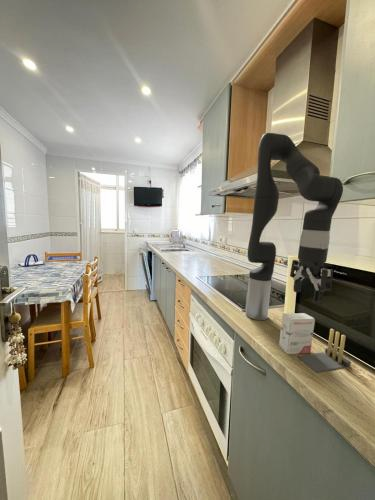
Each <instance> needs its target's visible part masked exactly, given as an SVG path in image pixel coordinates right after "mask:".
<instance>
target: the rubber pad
mask: <svg viewBox="0 0 375 500" xmlns="http://www.w3.org/2000/svg"><path fill="white" fill-rule="evenodd" d="M297 358H299V360H301V361H302V362H303V363H304V364H305V365H306V366H308V367H309V368H310V369H311V370H313V371H314V372H316V373H322V372H326V371H327V372H328V371H332V370H333V371H334V370H338V369H344V366H343V365H342V364H341V365H340V364H339V363H337V361H334V360H333V359H332V357H329V356H327V354H326V353H325V352H322V351H321V352H316V353H306V354H303V355H302V354H301V355H297Z"/></svg>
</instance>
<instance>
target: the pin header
mask: <svg viewBox="0 0 375 500" xmlns="http://www.w3.org/2000/svg"><path fill="white" fill-rule="evenodd" d="M334 334H335V335H334ZM333 341H334V343H333ZM339 341H340V344H339ZM345 343H346V335H345V334H341V335H340V332H339V331H335V329H333V328H330V329H329V337H328V343H327V347H326V348H325V349H324V354H326V355H327V356H329V357H330V358H332V359H333V360H334V361H336V362H337V363H339V364H340V365H342V366H343V367H345V368H350V367H351V364H352V362H351V361H350V360H349V359H347V358H346V357H345V356H344V349H345V345H346V344H345ZM332 348H333V349H332Z"/></svg>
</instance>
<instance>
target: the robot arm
mask: <svg viewBox="0 0 375 500" xmlns="http://www.w3.org/2000/svg"><path fill="white" fill-rule="evenodd" d="M257 148H258V149H257V170H256V171H257V174H256V186H255V193H254V201H253V211H252V212H253V214H252V222H251V223H252V224H251V229H250V230H251V231H250V235H249V241H248V244H247V245H248V246H247V255H246V256H247V260H248V262H249V263H254V264H261V265H260V266H258V267H257V268H254V269H253V268H252V269H251V270H250V271H249V274H248V286H247V287H248V288H247V292H246V299H245V310H244V312H245V315H246V317H248V318H250V319H253V320H257V321H265V320H267V319H268V318H269V317H268V315H269V308H270V307H269V306H270V296H271V285H272V279H273V274H274V271H275V270H274V267H275V262H276V258H277V257H276V256H277V248H276V247H277V246H276V244H275V243H274V242H271V241H261V237H262V233H263V231H264V229H265V228H266V226H267V225H268V224H269V223H270V222H271V220H272V219H273V218H274V217H275V214H276V213H277V210H278V206H279V199H280V193H279V189H278V186H277V183H276V182H275V179H274V177H273V174H272V170H271V169H272V164H271V163H272V161H281V162H283V163H285V165H286V166H285V170H286V173H287V175H288V176H289V178H290V179H291V180H292V181H293V182H294V183H296V185H297V186H296V187H297V188H298V190H299V194H300V195H301V197H302V198H303V199H305V200H307V201H309V202H317V203H318V204H317V205H316V207H315V208H314V209H310V210H307V211H305V213H304V216H303V223H302V230H301V231H302V232H301V234H300V238H299V247H298V255H297V259H293V260H292V261H291V262H292V263H291V267H290V273H289V276H290V278H292V279H293V281H294V282H293V287H292V288H293V292H294V293H301V291H302V286H303V280H304V279H305V278H306V279H308V280H310V282H311V284H313V286H314V290H313V297H312V302H313V303H315V304H317V303H322V301H323V297H324V292H326V291H331V290H332V286H333V276H334V270H333V269H331V268H330V269H328V268H324V264H325V263H326V262H327V259H328V252H329V247H330V246H329V245H330V240H331V239H330V238H331V235H330V233H331V226H332V219H333V216H334V214H335V211H336V210H337V207H338V205H339V203H340V200H341V198H342V196H343V193H344V186H343V182H342V181H341V179H340V178H338V177H334V176H326V175H325V176H324V175H320V174H321V172H320V169H319V167H318V166H317V165H315V163H313V162H312V161H311V160H309V159H308V157H306V156H304V154H303V153H302V152H301V151H300V150H299V148H298V147H297V146H296V144H295V143H294V141H293V140H292V139H291V137H289V135H286V134H283V133H275V132H266V133H263V134H262V136H261V137H260V140H259V144H258V147H257Z"/></svg>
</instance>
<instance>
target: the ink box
mask: <svg viewBox="0 0 375 500" xmlns="http://www.w3.org/2000/svg"><path fill="white" fill-rule="evenodd" d="M281 315H282V316H281V325H280V335H279V343H278V347H279V348H280V349H281V350H282V351H283V352H284V353H286V354H287V355H297V354H298V355H299V354H311V351H312V344H313V337H314V330H315V325H316V324H315V323H316V319H315V318H314V317H313V316H311V315H308V314H307V313H305V312H297V313H291V312H290V313H289V312H288V313H282V314H281Z"/></svg>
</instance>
